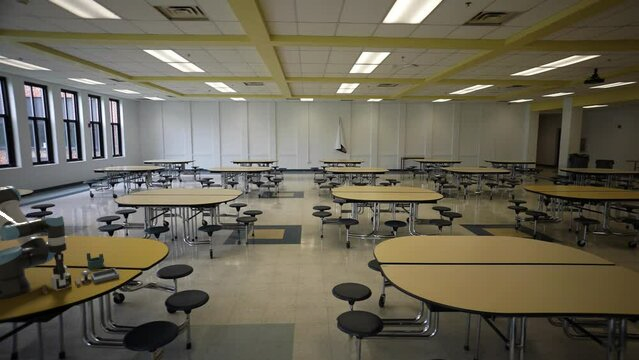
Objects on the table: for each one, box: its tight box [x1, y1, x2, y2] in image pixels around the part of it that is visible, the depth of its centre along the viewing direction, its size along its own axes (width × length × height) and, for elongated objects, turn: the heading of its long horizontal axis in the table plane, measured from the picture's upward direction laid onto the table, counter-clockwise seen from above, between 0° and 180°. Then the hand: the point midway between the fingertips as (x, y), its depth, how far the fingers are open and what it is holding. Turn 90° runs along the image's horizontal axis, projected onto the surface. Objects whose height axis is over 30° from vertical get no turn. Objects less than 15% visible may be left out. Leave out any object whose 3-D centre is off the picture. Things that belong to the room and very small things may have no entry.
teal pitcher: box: [85, 252, 105, 270], centre depth 217 cm, size 9×9×9 cm
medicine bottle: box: [50, 264, 73, 292], centre depth 187 cm, size 7×7×12 cm
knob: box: [80, 269, 92, 283], centre depth 196 cm, size 5×5×6 cm
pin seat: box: [42, 277, 82, 296], centre depth 187 cm, size 16×10×2 cm, turn 131°
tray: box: [90, 267, 120, 285], centre depth 200 cm, size 12×12×2 cm
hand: (61, 281), depth 187 cm, fingers open, 13 cm apart
